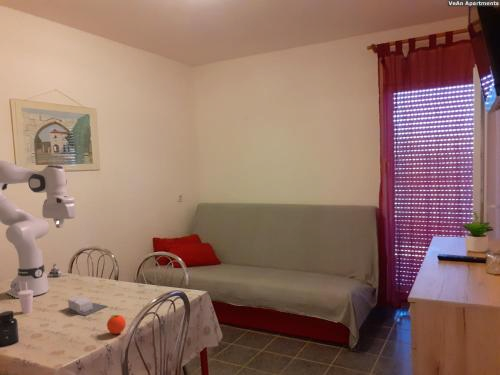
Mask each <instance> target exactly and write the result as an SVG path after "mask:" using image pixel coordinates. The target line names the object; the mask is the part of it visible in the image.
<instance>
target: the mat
mask: <svg viewBox="0 0 500 375" xmlns="http://www.w3.org/2000/svg"><path fill="white" fill-rule="evenodd" d="M92 308H93V309H92V310H89V311H87V312H83V313H78V312H76V311H74V310H72V309H70V308H69V310H66V312H67V313H70V314H76V315H80V316H83V317H87V316H89V315H91V314H94V313H96V312H99V311H101V310H103V309H105V308H108V305H106V304H105V305H104V304H100V303H96V302H95V303H94V302H92Z"/></svg>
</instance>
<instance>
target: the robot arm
mask: <svg viewBox="0 0 500 375" xmlns="http://www.w3.org/2000/svg"><path fill="white" fill-rule="evenodd" d="M24 183H27V184H28V188H29V189H30V191H32V193H38V194H40V193H41V194H42V193H46V199H45V200H43V204H42V208H41V209H42V210H41V211H42V217H43V218H44V219H43V218H40V217H37V216H35V215H33V214H31V213H29V212H27V211H26V210H23V209H22V208H21V207H19V206H18V205H17V204H16V203H15V202H13V201H12V200H11V199H10V198H9V197H7V196H6V195H5V194H4V192H3V191H5V190H7V188H8V185H15V184H24ZM67 183H68V182H67V176H66V171H65V168H64V166H61V165H55V164H50V165H49V164H48V165H46V166H45V167H44V169H42V170H35V169H32V168H27V167H24V166H20V165H18V164H14V163H11V162H8V161H3V160H0V223H1V224H3V225H5V226H8V227H7V228H6V230H5V238H6V239H7V241H8V242H10V243H11V244H12V245H13V246H14V248H15V250H16V253H17V256H18V265H19V266H18V269H16V270H17V276H16V277H15V278H13V280H12V281H11V283H10V285H9V286H10V289H9V290H7V291H6V292H5V294H6V293H8V294H9V296H10V295H11V297H12V296H13V297H12V298H14V297H15V298H14V299H19V296H18V293H19V292H21V291H25V290H26V284H25V282H27V290H33V291H34V293H33V297H34V296H38V295H42V294H44V293H45V294H46V293H47V292H48V291H49V289H51V285H49V281H48V276H47V275H48V274H47V273H45V271H46V270H45V264H44V260H43V259H44V258H43V257H44V256H43V251H42V249H41V248H39V247H38V246H37V243H36V240H38V239H41V238H42V237H44V236H45V235H47V234H48V233H49V231H50V224H49V223H48V221H47V220H46V219H53V222H54V225H55V228H57V229H63V227H64V223H65V220H71V219H74V218H76V206H75V200H76V199H75V198H74V197H73V196H71V195H69V194H68V190H67ZM8 294H7V295H8Z"/></svg>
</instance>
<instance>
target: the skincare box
mask: <svg viewBox="0 0 500 375" xmlns="http://www.w3.org/2000/svg"><path fill="white" fill-rule="evenodd" d="M67 302H68V308H69V310H70V309H72V310H74V311H76V312H78V313H83V312H87V311H89V310H92V309H93V308H92V303H93V301H92V300H91V299H89V298H86V297H83V296H81V295H77V296H74V297H73V296H72V297H71V298H68V299H67Z"/></svg>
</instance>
